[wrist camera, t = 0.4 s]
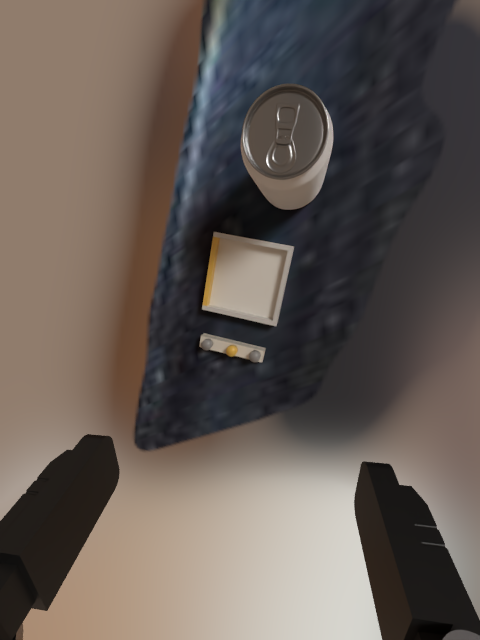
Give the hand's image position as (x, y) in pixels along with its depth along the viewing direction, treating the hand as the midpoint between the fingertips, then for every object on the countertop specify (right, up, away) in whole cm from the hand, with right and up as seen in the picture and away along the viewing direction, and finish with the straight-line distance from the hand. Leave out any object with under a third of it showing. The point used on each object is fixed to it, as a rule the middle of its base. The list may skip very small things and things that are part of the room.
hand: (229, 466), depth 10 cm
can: (+6, +19, +22) cm, 30 cm away
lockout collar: (+1, +9, +24) cm, 26 cm away
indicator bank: (0, +2, +26) cm, 27 cm away
